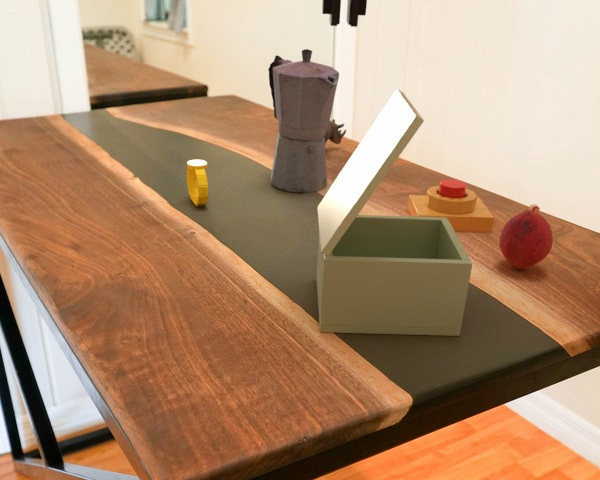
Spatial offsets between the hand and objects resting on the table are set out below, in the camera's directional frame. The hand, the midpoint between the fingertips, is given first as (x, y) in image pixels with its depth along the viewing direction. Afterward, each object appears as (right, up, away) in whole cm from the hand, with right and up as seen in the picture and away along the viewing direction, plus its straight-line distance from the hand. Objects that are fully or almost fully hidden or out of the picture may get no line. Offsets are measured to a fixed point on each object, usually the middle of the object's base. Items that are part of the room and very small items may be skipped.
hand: (343, 23), depth 56 cm
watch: (-18, -10, +38) cm, 43 cm away
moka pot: (-4, -5, +47) cm, 48 cm away
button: (+17, -9, +34) cm, 39 cm away
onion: (+22, -20, +22) cm, 37 cm away
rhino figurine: (0, +3, +63) cm, 63 cm away
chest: (+5, -24, +13) cm, 28 cm away
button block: (+17, -12, +35) cm, 41 cm away
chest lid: (+3, -11, +6) cm, 13 cm away
